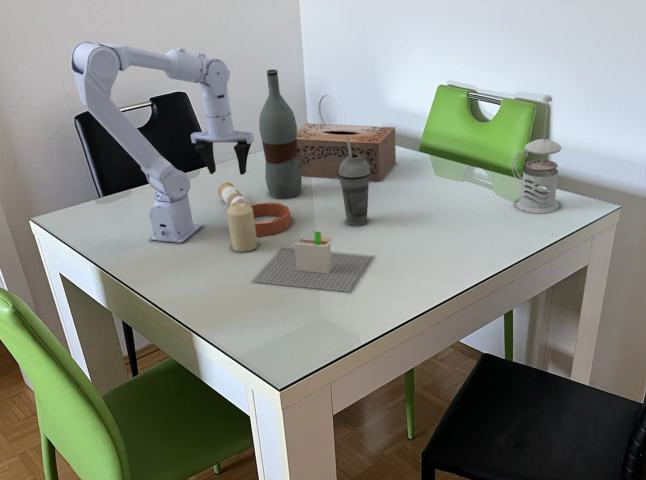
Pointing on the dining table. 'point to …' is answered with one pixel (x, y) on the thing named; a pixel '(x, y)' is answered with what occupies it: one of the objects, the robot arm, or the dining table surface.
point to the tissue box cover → (344, 148)
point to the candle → (242, 227)
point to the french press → (539, 197)
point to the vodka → (279, 143)
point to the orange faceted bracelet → (273, 225)
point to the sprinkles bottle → (231, 194)
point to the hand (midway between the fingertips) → (228, 172)
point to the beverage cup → (355, 187)
